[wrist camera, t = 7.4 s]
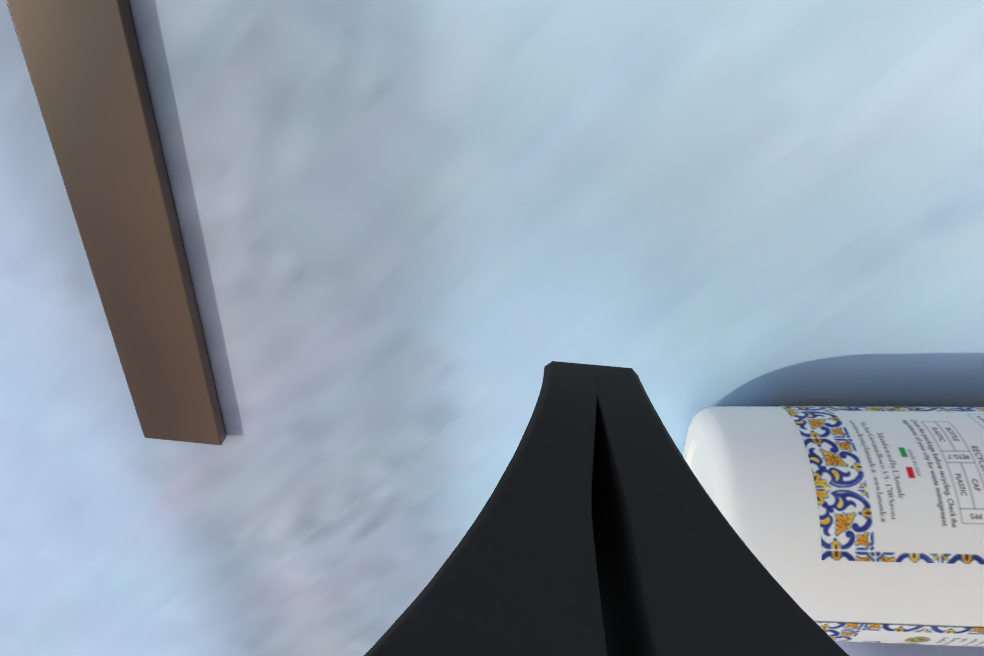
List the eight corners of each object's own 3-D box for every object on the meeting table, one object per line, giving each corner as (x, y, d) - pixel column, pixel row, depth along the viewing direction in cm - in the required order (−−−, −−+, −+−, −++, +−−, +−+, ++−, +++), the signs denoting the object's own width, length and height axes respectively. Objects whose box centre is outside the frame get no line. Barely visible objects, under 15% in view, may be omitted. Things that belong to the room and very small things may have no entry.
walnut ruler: (17, -499, 13) (-1, -510, 13) (226, 436, 27) (221, 445, 26) (-138, -507, 13) (-160, -517, 13) (150, 429, 27) (144, 438, 27)
